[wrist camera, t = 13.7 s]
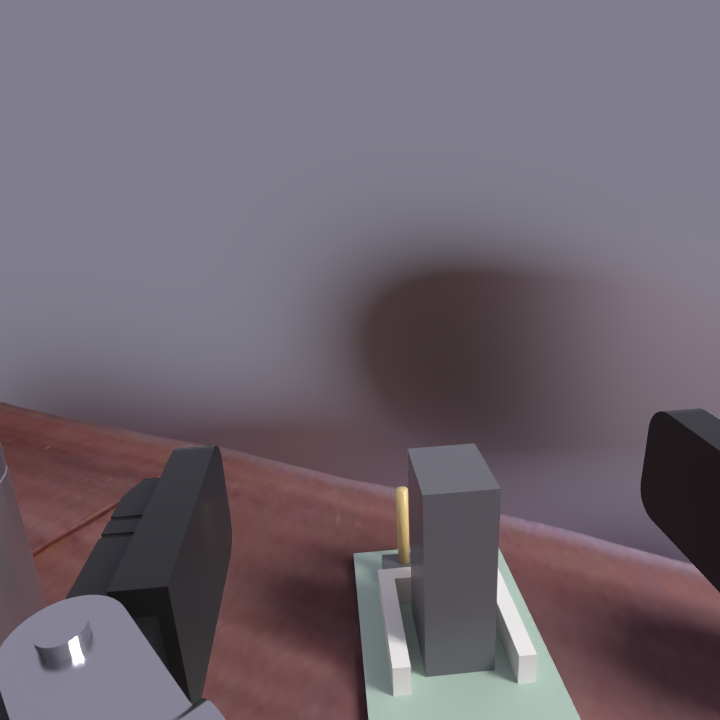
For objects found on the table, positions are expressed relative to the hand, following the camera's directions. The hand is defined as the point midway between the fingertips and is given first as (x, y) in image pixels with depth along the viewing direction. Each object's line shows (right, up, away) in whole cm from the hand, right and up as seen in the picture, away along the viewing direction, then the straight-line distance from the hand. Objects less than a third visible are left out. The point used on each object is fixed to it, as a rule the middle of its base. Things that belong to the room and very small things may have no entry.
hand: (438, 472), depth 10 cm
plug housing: (+4, -15, +24) cm, 29 cm away
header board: (+4, -15, +26) cm, 30 cm away
